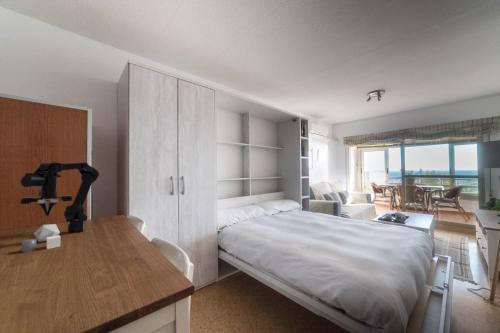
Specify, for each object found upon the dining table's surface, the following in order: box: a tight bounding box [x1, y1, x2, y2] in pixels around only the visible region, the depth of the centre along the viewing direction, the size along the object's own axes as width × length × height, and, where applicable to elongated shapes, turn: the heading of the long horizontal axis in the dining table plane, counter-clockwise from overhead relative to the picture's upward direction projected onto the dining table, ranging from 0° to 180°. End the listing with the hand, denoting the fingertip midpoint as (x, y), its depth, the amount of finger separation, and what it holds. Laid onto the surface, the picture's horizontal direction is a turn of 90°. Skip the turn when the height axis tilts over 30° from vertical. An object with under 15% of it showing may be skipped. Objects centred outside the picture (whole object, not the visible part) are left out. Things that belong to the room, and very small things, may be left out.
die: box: [33, 223, 61, 243], centre depth 105 cm, size 8×9×10 cm
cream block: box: [46, 234, 62, 250], centre depth 96 cm, size 4×4×4 cm
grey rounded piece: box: [21, 238, 38, 253], centre depth 91 cm, size 4×4×4 cm
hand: (47, 215), depth 105 cm, fingers closed
